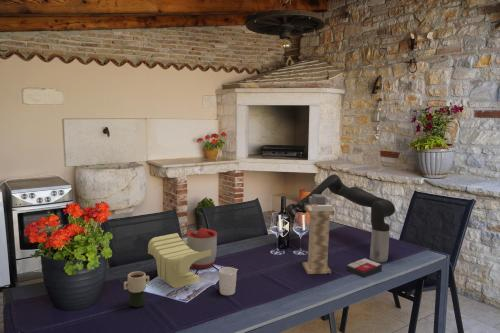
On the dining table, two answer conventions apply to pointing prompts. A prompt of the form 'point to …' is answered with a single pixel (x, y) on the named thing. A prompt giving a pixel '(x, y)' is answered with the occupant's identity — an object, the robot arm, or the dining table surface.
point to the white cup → (227, 280)
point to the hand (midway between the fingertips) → (307, 204)
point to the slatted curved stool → (175, 259)
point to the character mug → (136, 288)
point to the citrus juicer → (203, 246)
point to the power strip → (322, 207)
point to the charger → (317, 199)
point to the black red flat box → (364, 267)
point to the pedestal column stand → (318, 241)
